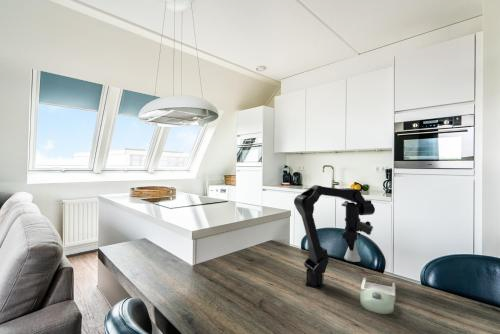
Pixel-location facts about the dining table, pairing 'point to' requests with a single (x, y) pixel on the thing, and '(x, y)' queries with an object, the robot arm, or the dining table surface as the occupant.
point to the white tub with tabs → (377, 297)
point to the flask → (352, 255)
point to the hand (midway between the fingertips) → (352, 250)
